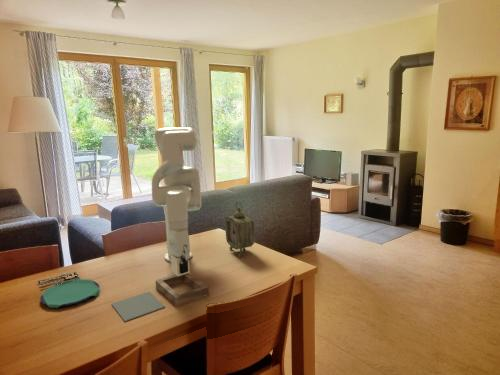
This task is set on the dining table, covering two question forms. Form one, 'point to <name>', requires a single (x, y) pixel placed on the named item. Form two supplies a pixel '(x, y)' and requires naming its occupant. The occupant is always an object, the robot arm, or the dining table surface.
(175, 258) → the cream block
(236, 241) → the grey lantern
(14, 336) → the dining table surface
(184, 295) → the pocket block
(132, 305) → the rubber mat
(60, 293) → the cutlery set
